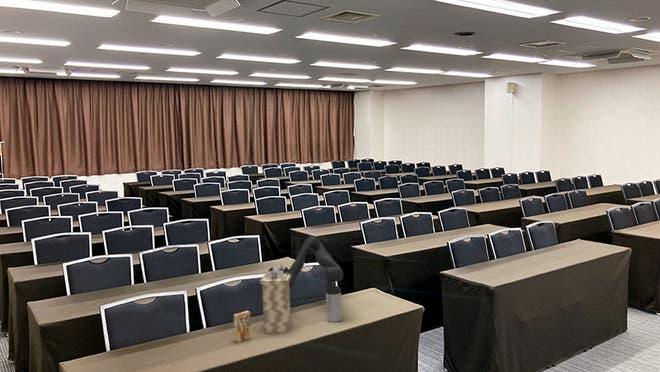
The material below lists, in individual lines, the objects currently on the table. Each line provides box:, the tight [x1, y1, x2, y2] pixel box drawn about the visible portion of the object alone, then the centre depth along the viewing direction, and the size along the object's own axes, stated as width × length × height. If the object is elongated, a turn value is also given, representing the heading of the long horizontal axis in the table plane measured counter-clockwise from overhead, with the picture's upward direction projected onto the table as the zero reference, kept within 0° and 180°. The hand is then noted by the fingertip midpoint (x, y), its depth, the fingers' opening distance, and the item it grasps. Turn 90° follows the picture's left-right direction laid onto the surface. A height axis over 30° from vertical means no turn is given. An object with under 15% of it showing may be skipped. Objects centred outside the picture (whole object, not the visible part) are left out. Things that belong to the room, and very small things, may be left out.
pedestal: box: [259, 274, 292, 334], centre depth 299 cm, size 16×14×31 cm
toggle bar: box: [265, 263, 284, 279], centre depth 304 cm, size 20×10×4 cm, turn 177°
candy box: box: [233, 310, 253, 343], centre depth 285 cm, size 9×4×15 cm, turn 129°
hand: (278, 268), depth 309 cm, fingers open, 8 cm apart
